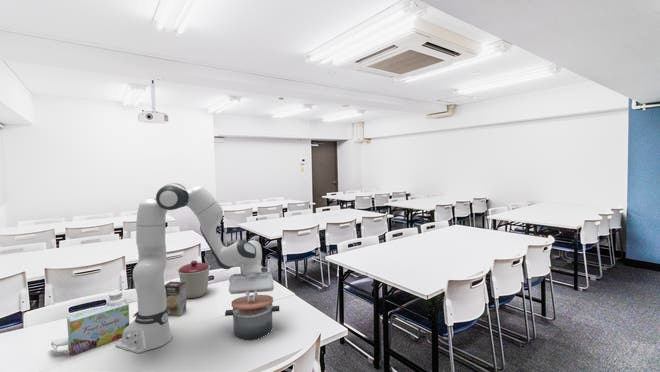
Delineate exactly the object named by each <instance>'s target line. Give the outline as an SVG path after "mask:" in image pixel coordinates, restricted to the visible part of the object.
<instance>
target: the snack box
mask: <svg viewBox="0 0 660 372" xmlns="http://www.w3.org/2000/svg"><path fill="white" fill-rule="evenodd" d="M129 306H130V305H129V303H127V301H126V302H125V301H124V302H120V303H117V304H113V305H110V306H107V305H106V306H103V307H100V308H97V309H93V310H89V311H85V312H83V313H79V314H78V313H77V314H75V315H72V316H69V317H67V318H66V321H67V322H66V323H67V325H66V326H67V338H68V340H69V354H70V355H71V356H74V355H77V354H80V353H83V352H85V351H86V352H87V351H89V350H92V349H94V348H97V347H99V346H103V345H104V344H108V343H110V342H111V343H112V342H115V341H116V340H117V341H118V340H120V339H121V338H122V333H123V331H124V329H125V328H126V327H127V326H128V325H130V309H129V308H130V307H129Z"/></svg>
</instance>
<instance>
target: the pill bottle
mask: <svg viewBox="0 0 660 372" xmlns="http://www.w3.org/2000/svg"><path fill="white" fill-rule="evenodd" d="M108 296H109V297H108V298H109V299H107V301H106V306H110V305H113V304H117V303H120V302H124V301H125V302H126V303H127V298H126V297H125V296H123V291H122V290H121V291H120V290H117V291H113V292H111V293H110V294H108Z"/></svg>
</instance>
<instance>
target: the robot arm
mask: <svg viewBox="0 0 660 372" xmlns="http://www.w3.org/2000/svg"><path fill="white" fill-rule="evenodd" d="M183 207H188V208H189V209H190V210H191V211H192V213H193V214H194V215H195V216H196V218H197V220H198V222H199V229H200V233H201V235H202V237H203V239H204V240H205V242H206V244H207V245H208V247H209V249H210V250H211V253H212V254H213V256H214V258H215V262H216V264H217V265H218V266H219V268H221V269H223V270H230V269H232V268H234V267H235V266H237V265H239V264H240V263H243V266H242V273H233V274H232V275H230V276H229V280H228V281H229V285H228V292H229V294H230V295H239V294H245V296H247V298H248V302H255V297H256V296H257V295H258V293H264V292H265V293H266V292H273V290H275V288H274V287H275V286H274V285H275V284H274V278H273V275H272V271H271V268H269V267H265V266H263V265H262V260H263V251H262V249H263V248H262V245H261V243H260V242H259V241H258V240H257V241H256V240H254V239H253V240H252V239H251V240H248V241H247V240H245V239H239V240H238V241H235V242H234V243H231V244H230V245H228V246H224V245H223V241H222V240H221V239H220V237H219V235H218V234H217V228H218V225H219V224H220V222H221V221H222V219H223V216H224V210H223V208H222V206H221V205H220V203H219V202H218V201H217V200H216V198H215V197H214V196H213V194H211V192H210V191H208V190H207V188H205V187H204V186H203V185H196V186H192V187H190V188H188V189H187V188H186V187H185V186H184V185H182V184H180V183H176V182H175V183H174V182H173V183H168V184H165V185H164V186H162V187H161V188H160V189H158V190H157V192H156V196H155V198H146V199H143V200H141V202H139V205H138V207H137V213H136V225H135V226H136V229H135V233H136V234H135V237H136V238H135V243H136V246H137V253H138V260H137V263H136V265H134V268H133V269H132V280H133V283H134V287H135V291H136V297H137V298H136V299H137V310H138V311H136V312H135V313H134V314H133V315H132V316H133V317H132V318H135V320H133V321H132V322H130V323H129V325H128V326H127V327H126V328H125V329H124V331H123V333H122V338H119V339H117V341H116V343H115V347H116V348H119V349H123V350H126V351H129V352H132V353H136V354H141V353H145V352H146V351H149V350H154V349H157V348H159V347H162V346H164V345H166V344H168V343H169V342H170V341H171V340H172V338H173V334H172V330H171V328H170V322H169V316H168V306H167V300H166V289H165V285H166V283H165V278H164V273H165V268H166V266H167V246H166V219H167V218H166V216H167V213H168V211H173V210H174V211H175V210H177V209H181V208H183ZM252 293H253V295H254V296H253V297H249V295H250V294H252Z"/></svg>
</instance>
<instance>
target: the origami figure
mask: <svg viewBox="0 0 660 372" xmlns="http://www.w3.org/2000/svg"><path fill="white" fill-rule="evenodd" d="M50 345H51V347H52V348H53V350H54V353H56V354H57V356H58V355H59V356H60V353H59V351H58V347H63V346H67V351H66V353H67V356H70V355H71V353H70V351H69V340H68V337H64V338H57V339H52V341H51V343H50ZM56 349H57V350H56Z"/></svg>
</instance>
